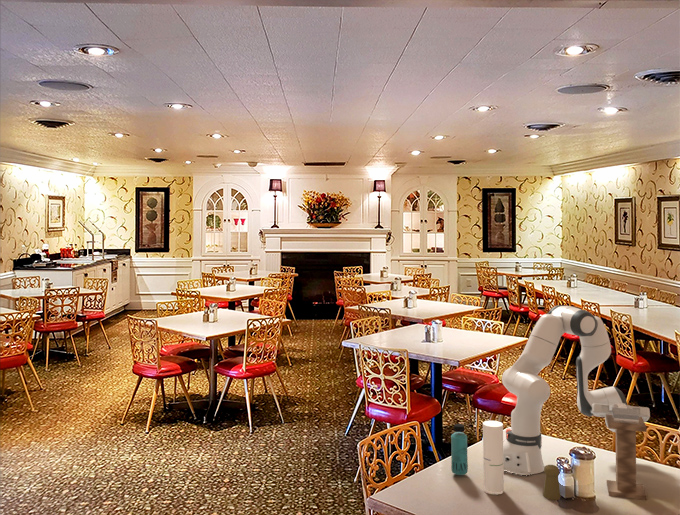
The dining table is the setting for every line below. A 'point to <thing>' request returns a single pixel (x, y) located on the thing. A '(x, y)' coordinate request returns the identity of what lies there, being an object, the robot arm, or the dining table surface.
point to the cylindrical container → (493, 456)
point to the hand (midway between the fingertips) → (621, 406)
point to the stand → (626, 460)
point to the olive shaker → (551, 483)
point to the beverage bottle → (459, 450)
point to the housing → (625, 414)
